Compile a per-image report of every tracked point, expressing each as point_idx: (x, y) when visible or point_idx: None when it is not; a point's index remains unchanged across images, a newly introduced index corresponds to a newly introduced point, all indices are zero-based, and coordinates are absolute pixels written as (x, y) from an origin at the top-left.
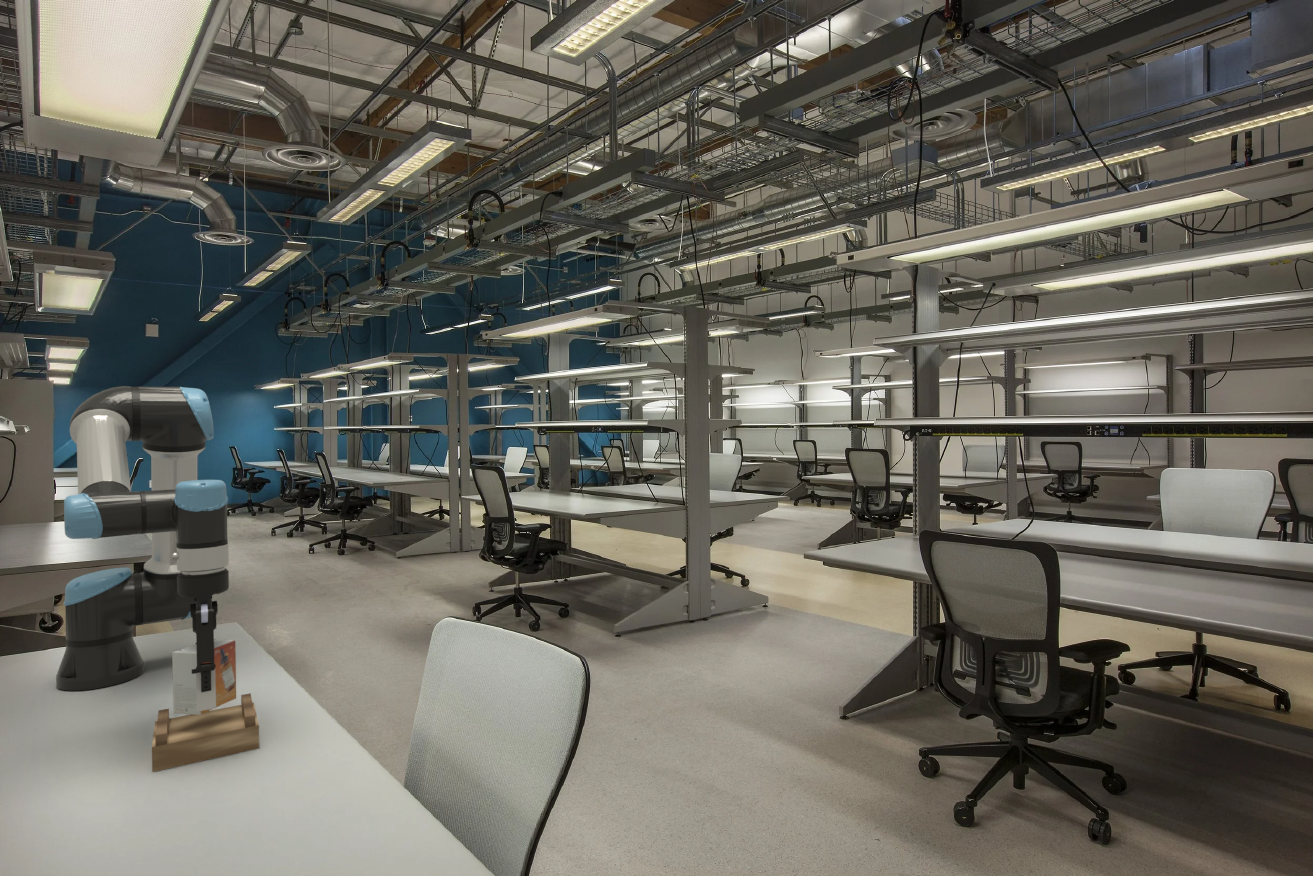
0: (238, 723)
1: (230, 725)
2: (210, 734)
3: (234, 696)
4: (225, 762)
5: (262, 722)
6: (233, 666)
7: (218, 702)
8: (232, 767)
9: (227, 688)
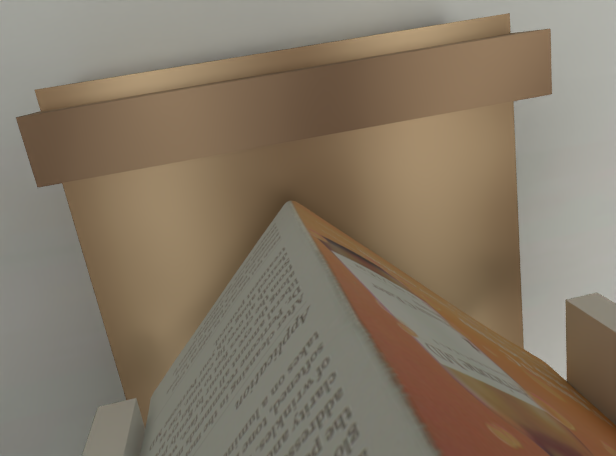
0: (418, 141)
1: (428, 182)
2: (509, 264)
3: (311, 214)
4: (525, 160)
5: (64, 38)
6: (401, 337)
7: (446, 303)
8: (591, 123)
9: (404, 286)
